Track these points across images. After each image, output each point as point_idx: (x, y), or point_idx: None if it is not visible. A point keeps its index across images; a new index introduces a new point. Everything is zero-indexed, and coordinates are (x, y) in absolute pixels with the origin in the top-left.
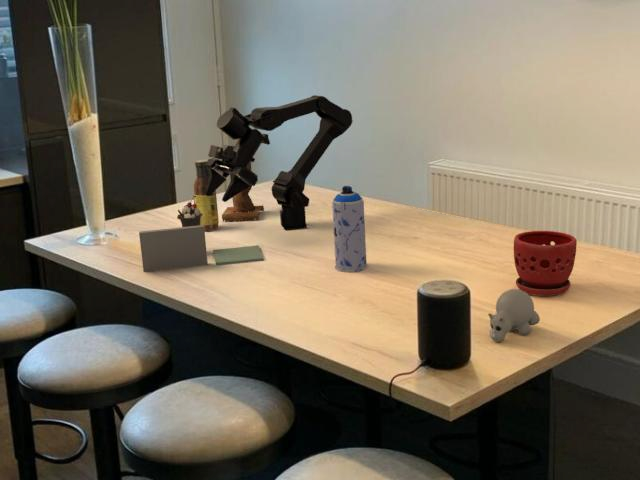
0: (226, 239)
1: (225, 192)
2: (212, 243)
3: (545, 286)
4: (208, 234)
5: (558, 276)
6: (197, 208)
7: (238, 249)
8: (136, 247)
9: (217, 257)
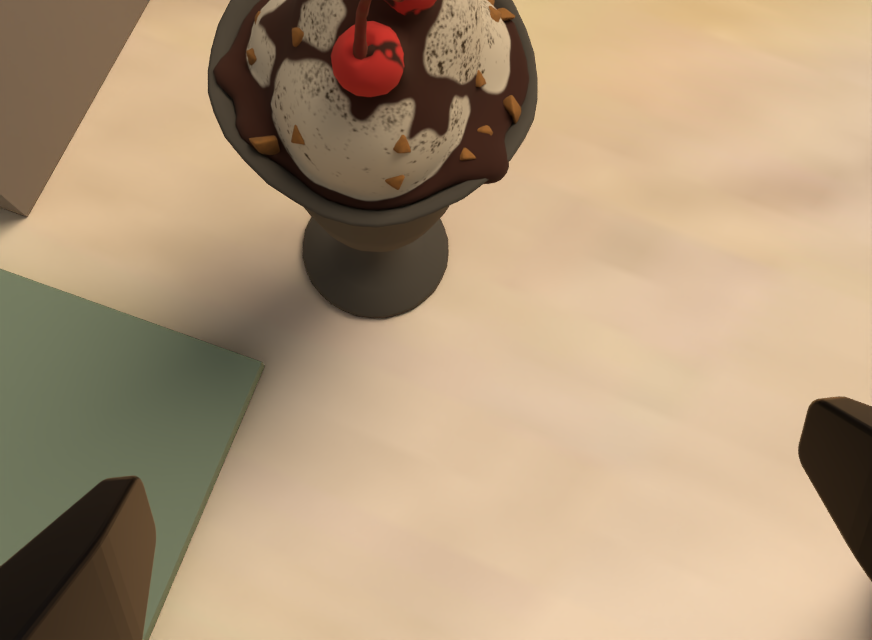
0: (552, 617)
1: (39, 586)
2: (511, 462)
3: None
4: (799, 546)
5: None
6: (339, 110)
7: None
8: (749, 3)
9: (35, 305)
